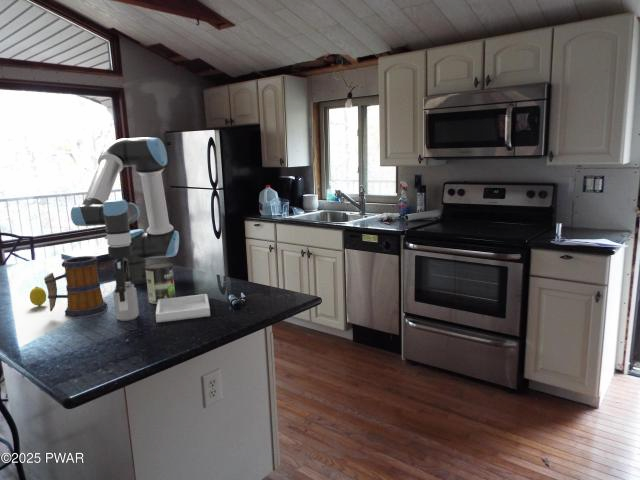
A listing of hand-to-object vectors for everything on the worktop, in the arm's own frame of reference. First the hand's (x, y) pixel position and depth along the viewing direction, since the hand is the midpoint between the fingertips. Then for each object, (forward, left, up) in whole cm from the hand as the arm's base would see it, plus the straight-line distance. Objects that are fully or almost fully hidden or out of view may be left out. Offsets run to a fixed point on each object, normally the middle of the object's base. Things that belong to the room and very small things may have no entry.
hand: (126, 304), depth 169 cm
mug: (-13, -18, -5) cm, 23 cm away
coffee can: (-18, +11, -5) cm, 22 cm away
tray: (0, +19, -5) cm, 20 cm away
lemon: (-28, -35, -5) cm, 45 cm away
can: (0, 0, -5) cm, 5 cm away
